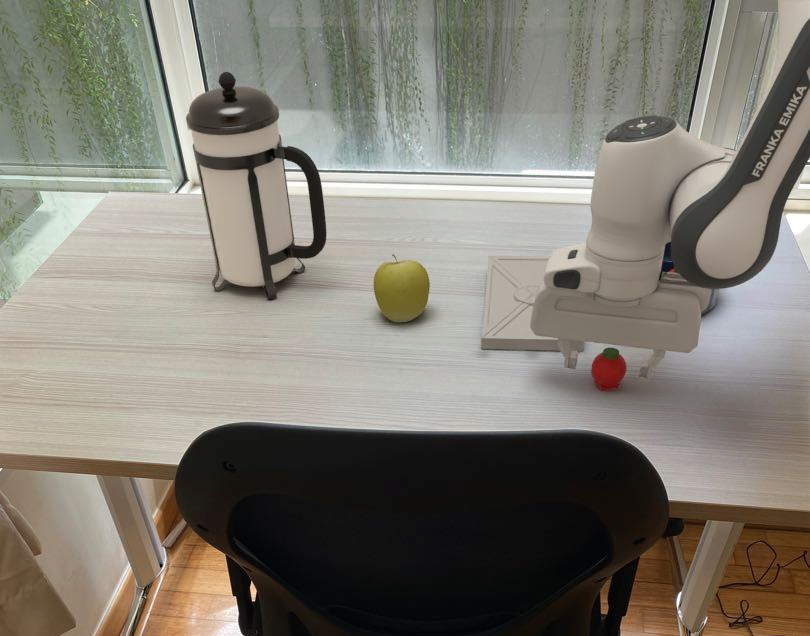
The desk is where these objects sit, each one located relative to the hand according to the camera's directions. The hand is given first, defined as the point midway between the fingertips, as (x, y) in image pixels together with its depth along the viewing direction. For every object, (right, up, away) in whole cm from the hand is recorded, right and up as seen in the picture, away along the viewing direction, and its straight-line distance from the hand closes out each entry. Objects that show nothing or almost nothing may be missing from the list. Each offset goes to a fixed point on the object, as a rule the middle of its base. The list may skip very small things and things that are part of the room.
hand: (607, 370), depth 111 cm
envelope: (-7, +12, +17) cm, 22 cm away
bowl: (+12, +14, +18) cm, 26 cm away
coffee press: (-47, +19, +27) cm, 58 cm away
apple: (-26, +11, +17) cm, 33 cm away
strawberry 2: (0, -2, +1) cm, 2 cm away
